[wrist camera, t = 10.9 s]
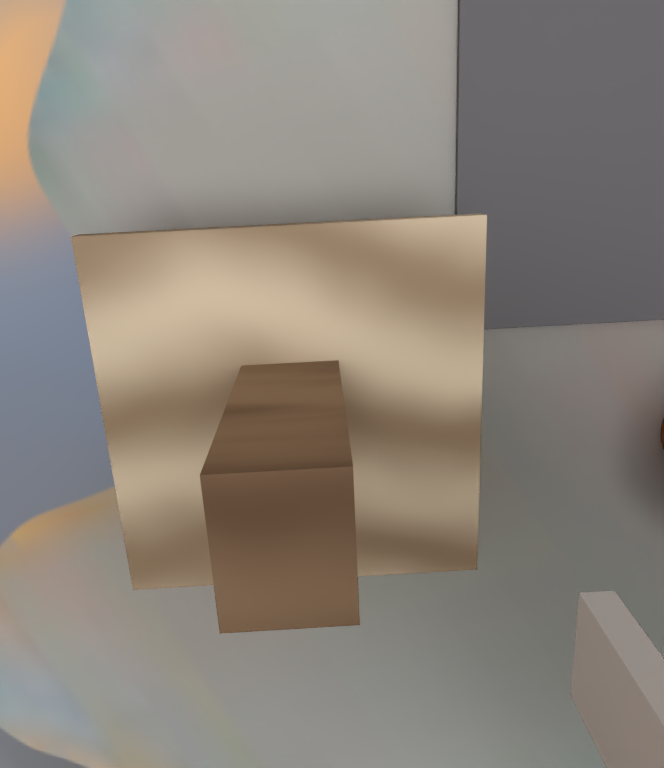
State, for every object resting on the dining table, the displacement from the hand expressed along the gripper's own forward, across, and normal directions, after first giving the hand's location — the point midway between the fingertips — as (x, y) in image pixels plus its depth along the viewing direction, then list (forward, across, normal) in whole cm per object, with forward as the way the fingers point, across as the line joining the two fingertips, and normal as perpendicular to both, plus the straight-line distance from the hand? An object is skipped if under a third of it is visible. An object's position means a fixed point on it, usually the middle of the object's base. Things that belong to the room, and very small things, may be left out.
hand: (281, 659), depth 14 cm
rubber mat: (+24, -18, -10) cm, 32 cm away
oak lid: (+15, 0, 0) cm, 15 cm away
